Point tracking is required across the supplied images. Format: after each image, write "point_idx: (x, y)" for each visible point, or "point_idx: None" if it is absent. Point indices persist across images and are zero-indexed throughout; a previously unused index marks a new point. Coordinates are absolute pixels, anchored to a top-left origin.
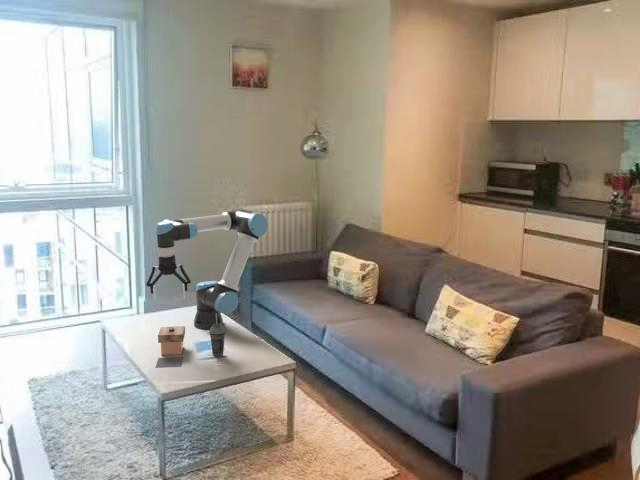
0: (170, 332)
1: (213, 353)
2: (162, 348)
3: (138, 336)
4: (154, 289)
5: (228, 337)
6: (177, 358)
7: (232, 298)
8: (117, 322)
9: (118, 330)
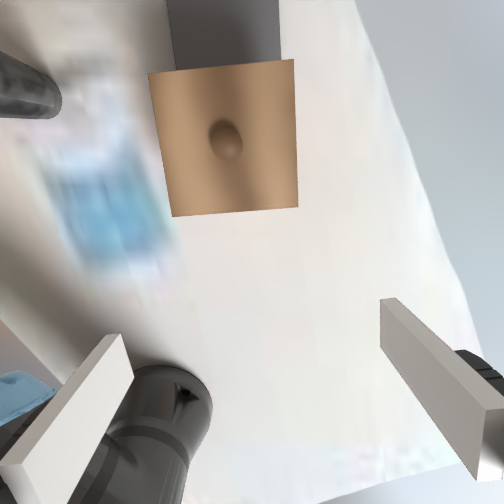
0: (228, 111)
1: (42, 75)
2: None
3: None
4: (463, 381)
5: (62, 290)
6: (197, 55)
7: None
8: None
9: None
